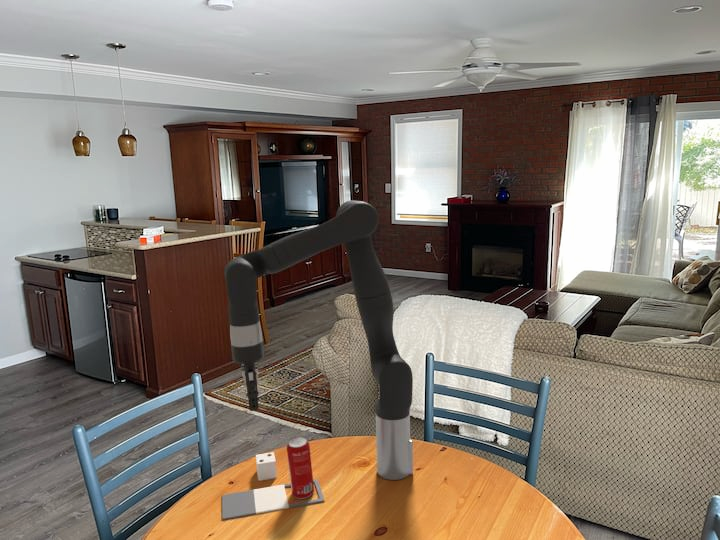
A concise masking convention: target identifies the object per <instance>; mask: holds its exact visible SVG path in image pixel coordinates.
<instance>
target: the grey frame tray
mask: <svg viewBox="0 0 720 540" xmlns="http://www.w3.org/2000/svg"><path fill="white" fill-rule="evenodd" d="M313 484H314V485H315V489H316V492H317V496H318V498H317V499H310V500H304V501H299V502H294V503H293V502H292V503H289V501H288V497H287V492H286V488H291V482H290V483H289V482H288V483H284V484H278V485H272V486H267V487H261V488H256V489H254V488H253V489H250V490H249V489H248V490H244V491H236V492H231V493H225V494H221V508H222V509H221V510H222V511H221V514H222V515H221V518H222V521H224V520H225V521H226V520H231V519H236V518H242V517H247V516H253V515H258V514H264V513H270V512H273V511H274V512H275V511H280V510H284V509H285V510H286V509H291V508H296V507H302V506H303V507H304V506H306V505H313V504H317V503H324V502H325V497H324V494H323V491H322V488H321V486H320V483H319V479H318V478H313Z"/></svg>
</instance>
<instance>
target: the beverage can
mask: <svg viewBox="0 0 720 540" xmlns="http://www.w3.org/2000/svg"><path fill="white" fill-rule="evenodd" d="M286 453H287V460H288V461H287V463H288V469H289V470H288V471H289V480H290V483H291V487H290V488H291V495H292V496H293V497H294V498H296V499H298V500H304V499H307V498H310V497H311V496H312V495H313V494H314V491H315V487H314V485H315V484H314V483H313V479H314V476H313V467H312V458H311V456H312V455H311V448H310V442H309V441H308V438H306V436H294V437H291V438H289V439H288V441H287V445H286Z"/></svg>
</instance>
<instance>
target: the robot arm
mask: <svg viewBox="0 0 720 540" xmlns="http://www.w3.org/2000/svg"><path fill="white" fill-rule="evenodd" d="M379 220H380V219H379V214H378V211H377V209H376V208H375V207H374V206H372V204H370V203H368V202H366V201H363V200H362V201H361V200H347V201H344V202H343V203H342V204H341V205H340V206H339V207H338V209H337V211H336V215H335V216H334V217H333V218H332V219H329V220H328V221H325V222H324V223H322V224H319V225H317V226H313V227H311V228H308V229H305V230H302V231H299V232H296V233H292V234H290V235H286V236H285V237H282V238H280V239H278V240H275V241H273V242H271V243H269V244H267V245H265V246H264V247H261V248H260V249H256V250H252V251H249V252H246V253H244V254H241V255H239V256H236V257H234V258H232V259H231V260H229V262H227V263H226V265H225V267H224V270H223V275H224V278H225V285H226V291H227V297H228V316H229V317H228V318H229V336H230V346H231V356H232V361H233V362H234V363H236V364H241V365H240V369H241V376H242V378H243V386H244V388H246V396H247V399H248V408H249V409H248V410H249V412H254V411H258V410H259V408H260V406H259V397H258V396H259V395H260V393H259V391H258V387H259V366H258V363H257V362H259V361H260V360H263V358H264V356H265V353H264V339H263V333H262V327H261V321H260V311H259V305H258V300H257V299H258V283H257V282H258V281H257V279H259V278H262V277H264V276H265V275H269V274H270V275H274V274H278V273H280V272H282V271H284V270H287V269H289V268H291V267H293V266H295V265H297V264H298V263H301V262H303V261H305V260H307V259H309V258H312V257H313V256H315V255H317V254H319V253H322V252H324V251H326V250H330V249H331V248H334V247H337V246H341V245H343V246H344V249H345V252H346V256H347V260H348V266H349V273H350V277H351V282H352V287H353V291H354V297H355V301H356V306H357V309H358V313H359V316H360V320H361V324H362V326H363V330H364V333H365V336H366V340H367V345H368V354H369V360H370V361H369V362H370V368H371V373H372V376H373V379H374V380H375V381H376V382H377V384H378V400H377V401H376V402H375V434H376V435H375V437H376V439H375V441H376V442H375V443H376V473H377V474H378V476H380V477H381V478H382V479H385V480H390V481H398V480H402V479H405V478H407V477H408V476H410V475H413V474H414V454H413V453H414V446H413V445H414V444H413V443H414V442H413V440H412V439H411V417H410V415H411V411H410V410H411V406H412V404H413V387H414V386H413V385H414V384H413V382H414V380H413V378H414V377H413V372H412V371H413V370H412V368H411V366H410V365H409V363H408V362H406V361H405V360H404V358H402V356H401V355H400V353H399V350H398V347H397V344H396V341H395V337H394V332H393V331H394V329H393V325H394V310H395V309H394V302H393V297H392V292H391V288H390V287H391V286H390V285H389V280H388V279H387V275H386V273H385V271H384V269H383V267H382V264H381V263H380V261H379V258H378V256H377V254H376V251H375V248H374V244H373V238H372V235H373V233H374V232H375V231H376V229H377V228H378V225H379Z"/></svg>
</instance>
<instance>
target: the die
mask: <svg viewBox="0 0 720 540" xmlns="http://www.w3.org/2000/svg"><path fill="white" fill-rule="evenodd" d="M255 462H256V475H257V480H258V482H259V481H260V482H261V481H264V480H265V481H266V480H272V479H277V460H276V457H275V452H274V451H271V452H266V453H265V452H264V453H260V454H259V453H258V454H255Z"/></svg>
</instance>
